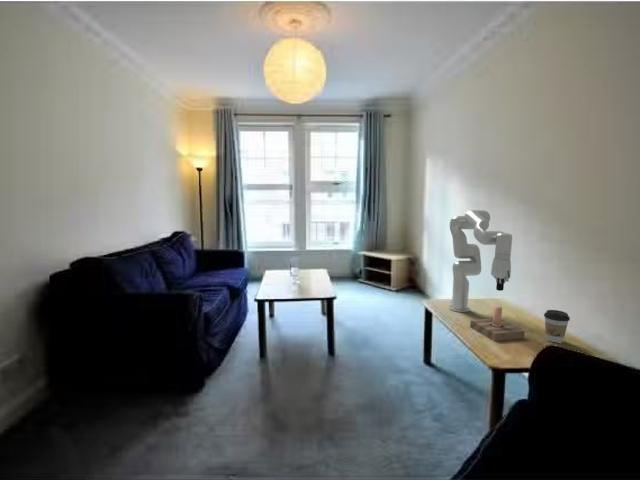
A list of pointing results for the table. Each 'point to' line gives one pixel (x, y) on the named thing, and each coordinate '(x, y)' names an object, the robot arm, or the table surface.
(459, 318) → the table surface
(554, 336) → the coffee cup
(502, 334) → the board
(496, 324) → the peg
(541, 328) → the table surface
